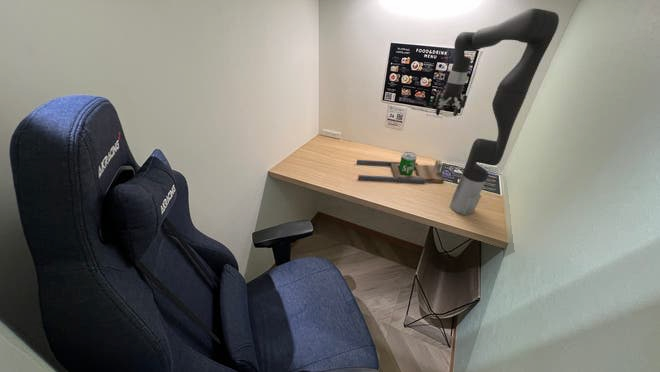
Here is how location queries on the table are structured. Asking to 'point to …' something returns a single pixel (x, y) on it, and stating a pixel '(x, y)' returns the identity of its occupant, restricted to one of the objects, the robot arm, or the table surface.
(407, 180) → the lane rails
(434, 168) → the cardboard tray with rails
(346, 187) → the table surface
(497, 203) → the table surface
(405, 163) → the soda can
